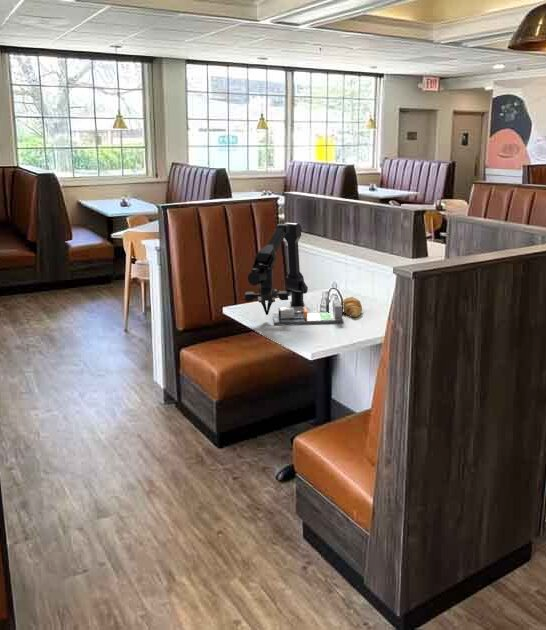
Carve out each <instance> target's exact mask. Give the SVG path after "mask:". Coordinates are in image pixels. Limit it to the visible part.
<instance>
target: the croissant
mask: <svg viewBox="0 0 546 630" xmlns="http://www.w3.org/2000/svg"><path fill="white" fill-rule="evenodd" d="M342 301H343V303H344V311H345V313H346V314H345V313H344V314H345V315H347V316H350V317H351V318H356V317H359V316H360V315H361V314H362V312H363V307H362V304H361V301H360V300H359V299H358V298H355V297H354V296H350V297H346V298H345V299H343V300H342Z"/></svg>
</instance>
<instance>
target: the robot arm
mask: <svg viewBox="0 0 546 630" xmlns="http://www.w3.org/2000/svg"><path fill="white" fill-rule="evenodd" d="M302 230H303V229H302V225H301V224H300V223H296V222H285V223H279V224H277V225H276V227H275V231H274V232H273V233H272V235H271V237H270V239H269V241H268V242H267V243H266V245H265V246H263V247H261V248H260V250H259V251H258V252H257V254H256V256H255V259H254V263H253V266H252V269H251V272H250V273H249V274H248V276H247V281H248V283H249V284H250V285H251V286H257V285H259V293H255V292H254V291H246V292H245V293H244V301H245V302H252V301H254V300H255V299H257V302H258V303H261V304H260V305H262V307H263V310H264V312H265V315H266V316H268V315H269V313H270V309H271V307H272V304H273V303H275V302H276V299H279V300H280V301H288V300H289V293H290V296H291V297H290V298H291V301H290V307H306V305H305V302H304V294H307V293H308V290H309V289H308V288H309V287H308V285H307V284H306V283H305V280H304V279H305V278H304V276H303V274H302V272H301V268H300V254H299V252H300V251H299V241H300V239H301V237H302ZM283 240H285V241H286V243H287V254H288V255H287V259H288V274H287V275H286V277H285V278H284V280H285V287H286V288H285V289H286V290H279V291H278V290H277V288H274V283H273V282H274V279H273V278H274V276H273V275H274V274H273V273H274V272H273V269H275V268H276V267H275V266H274V264H275V262H276V259H277V251H278V250H279V248H280V247H281V244H282V243H283ZM277 291H278V292H277ZM266 302H267V303H266Z"/></svg>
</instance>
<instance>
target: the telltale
mask: <svg viewBox="0 0 546 630" xmlns="http://www.w3.org/2000/svg"><path fill="white" fill-rule="evenodd" d="M302 307H303V308H302V309H303V310H302V311H303V313H304V318H307V313H308V309H307V307H306V306H302Z"/></svg>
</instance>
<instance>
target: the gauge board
mask: <svg viewBox="0 0 546 630" xmlns="http://www.w3.org/2000/svg"><path fill="white" fill-rule="evenodd" d="M331 302H332V306H331V307H333V314H330V313H328V312H329V311H322V312H321V311H319V312H307V318H304V312H303V314H294V318H279V313H272V315H273V316H272V317H273V325H274V326H280V325H279V324H294V325H327V324H331V323H332V324H345V323H344V318H343V312H342V305H341V301H340V299H332V301H331Z"/></svg>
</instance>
